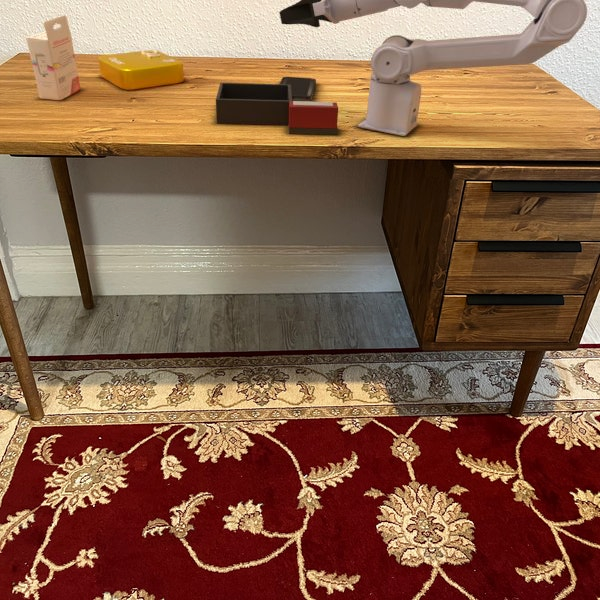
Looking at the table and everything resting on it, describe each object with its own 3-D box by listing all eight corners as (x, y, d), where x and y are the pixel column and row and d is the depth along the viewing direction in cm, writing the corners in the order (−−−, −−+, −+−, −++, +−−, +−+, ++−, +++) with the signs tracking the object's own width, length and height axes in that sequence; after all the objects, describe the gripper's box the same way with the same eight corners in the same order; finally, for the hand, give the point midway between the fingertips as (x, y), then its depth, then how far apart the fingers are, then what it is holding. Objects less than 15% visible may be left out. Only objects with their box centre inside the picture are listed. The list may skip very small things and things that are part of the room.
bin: (290, 106, 123) (290, 84, 120) (291, 125, 113) (292, 101, 110) (221, 104, 122) (220, 82, 119) (216, 123, 112) (215, 99, 110)
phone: (316, 78, 137) (311, 96, 125) (316, 83, 138) (311, 102, 125) (282, 76, 137) (274, 94, 125) (282, 81, 138) (274, 99, 126)
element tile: (97, 75, 137) (94, 53, 134) (157, 67, 144) (155, 47, 142) (125, 91, 127) (122, 68, 124) (187, 82, 135) (185, 60, 132)
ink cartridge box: (60, 87, 128) (45, 12, 119) (81, 89, 127) (68, 14, 118) (37, 98, 121) (21, 20, 112) (60, 101, 120) (45, 22, 111)
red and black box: (335, 128, 112) (338, 101, 109) (337, 135, 109) (339, 106, 106) (288, 127, 112) (289, 99, 109) (288, 133, 109) (289, 105, 106)
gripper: (364, -28, 108) (295, -10, 113) (345, -26, 96) (269, -6, 101) (370, 14, 111) (303, 29, 116) (352, 21, 99) (278, 38, 104)
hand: (288, 16), depth 109 cm, fingers open, 7 cm apart
